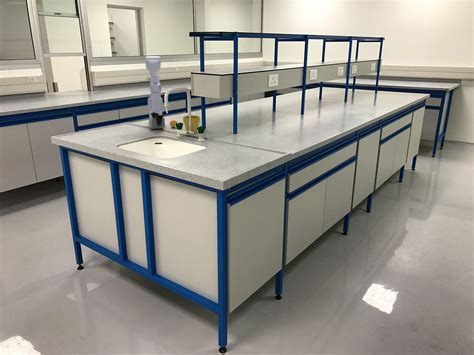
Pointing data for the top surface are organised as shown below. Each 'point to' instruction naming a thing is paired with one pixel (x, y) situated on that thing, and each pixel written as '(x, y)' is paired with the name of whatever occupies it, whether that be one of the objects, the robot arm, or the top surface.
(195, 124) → the plant pot
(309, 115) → the top surface
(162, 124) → the grey block
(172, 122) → the ball
